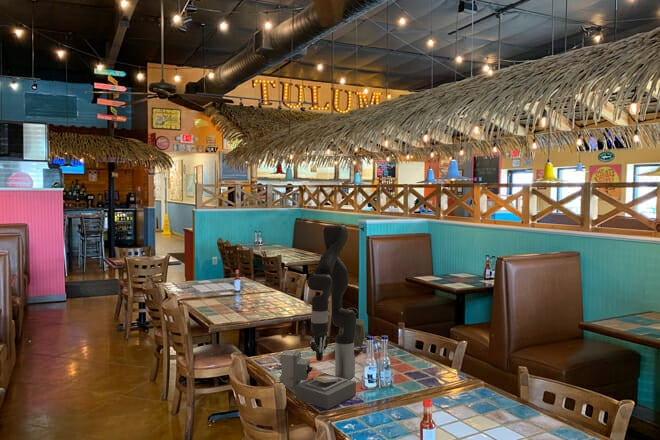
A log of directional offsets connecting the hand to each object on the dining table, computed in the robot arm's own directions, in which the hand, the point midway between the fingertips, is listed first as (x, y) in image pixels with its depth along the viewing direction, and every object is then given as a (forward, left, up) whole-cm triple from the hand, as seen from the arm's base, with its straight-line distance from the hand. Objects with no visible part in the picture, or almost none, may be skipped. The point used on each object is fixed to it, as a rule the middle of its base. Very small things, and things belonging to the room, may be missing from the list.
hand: (319, 360), depth 218 cm
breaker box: (-5, 0, -17) cm, 18 cm away
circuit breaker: (-8, -20, -18) cm, 28 cm away
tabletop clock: (-68, -31, -18) cm, 76 cm away
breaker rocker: (-5, 0, -9) cm, 10 cm away
